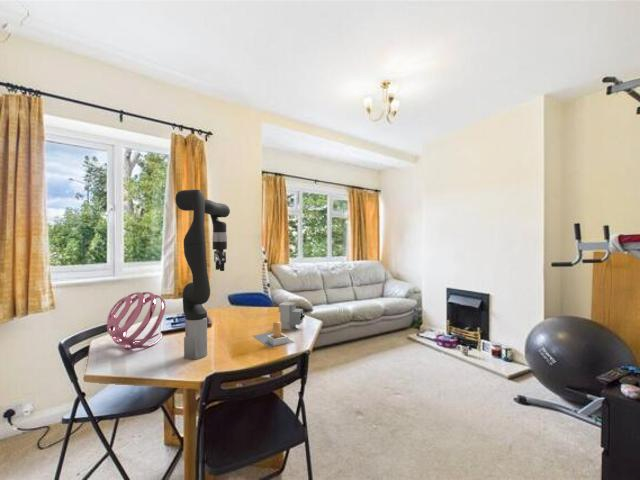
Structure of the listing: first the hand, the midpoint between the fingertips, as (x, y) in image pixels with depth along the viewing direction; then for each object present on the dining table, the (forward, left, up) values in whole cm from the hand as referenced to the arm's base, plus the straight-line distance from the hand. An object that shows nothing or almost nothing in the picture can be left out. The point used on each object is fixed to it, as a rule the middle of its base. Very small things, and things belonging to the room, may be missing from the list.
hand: (219, 270), depth 169 cm
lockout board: (0, -31, -36) cm, 48 cm away
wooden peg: (-4, -36, -35) cm, 50 cm away
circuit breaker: (+22, -34, -36) cm, 54 cm away
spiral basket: (-25, +31, -36) cm, 54 cm away
